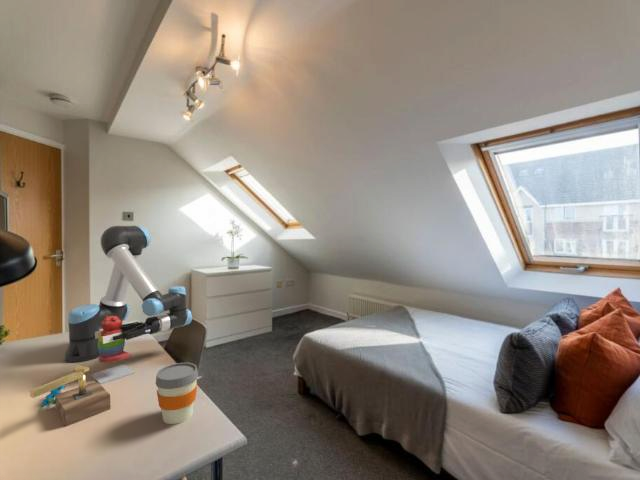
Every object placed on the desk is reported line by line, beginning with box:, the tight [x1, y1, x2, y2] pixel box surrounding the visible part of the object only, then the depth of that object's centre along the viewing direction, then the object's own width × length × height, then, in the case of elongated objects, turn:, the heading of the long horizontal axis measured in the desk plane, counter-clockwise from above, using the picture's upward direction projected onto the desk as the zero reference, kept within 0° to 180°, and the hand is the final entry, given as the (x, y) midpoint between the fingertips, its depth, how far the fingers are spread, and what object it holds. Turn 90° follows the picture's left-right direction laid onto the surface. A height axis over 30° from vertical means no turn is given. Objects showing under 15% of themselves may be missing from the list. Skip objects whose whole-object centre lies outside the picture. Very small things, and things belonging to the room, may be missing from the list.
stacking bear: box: [98, 316, 131, 364], centre depth 130 cm, size 11×10×18 cm
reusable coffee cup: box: [155, 362, 199, 425], centre depth 102 cm, size 13×12×15 cm
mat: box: [90, 363, 135, 385], centre depth 131 cm, size 12×12×1 cm
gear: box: [40, 384, 66, 408], centre depth 110 cm, size 11×6×10 cm
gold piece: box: [29, 364, 90, 399], centre depth 99 cm, size 15×5×9 cm, turn 160°
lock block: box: [54, 381, 112, 427], centre depth 105 cm, size 14×12×5 cm
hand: (99, 337), depth 126 cm, fingers closed on stacking bear, 9 cm apart
